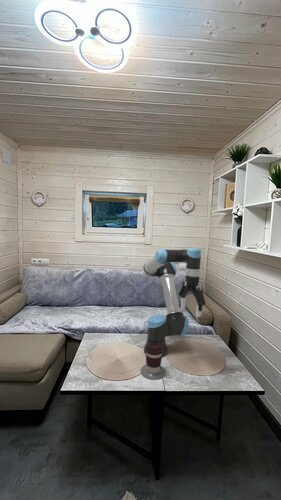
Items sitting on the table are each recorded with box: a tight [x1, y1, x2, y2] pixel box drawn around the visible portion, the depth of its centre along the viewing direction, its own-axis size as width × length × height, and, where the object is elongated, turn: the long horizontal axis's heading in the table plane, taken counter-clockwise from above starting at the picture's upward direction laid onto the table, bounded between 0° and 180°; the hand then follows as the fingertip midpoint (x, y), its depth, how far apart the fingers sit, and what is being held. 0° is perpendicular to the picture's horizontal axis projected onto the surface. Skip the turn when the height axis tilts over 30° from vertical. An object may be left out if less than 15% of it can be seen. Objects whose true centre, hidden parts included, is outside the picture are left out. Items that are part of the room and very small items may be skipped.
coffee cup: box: [145, 342, 163, 374], centre depth 138 cm, size 10×10×15 cm
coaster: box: [140, 364, 167, 381], centre depth 139 cm, size 14×14×1 cm
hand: (190, 312), depth 142 cm, fingers open, 13 cm apart
